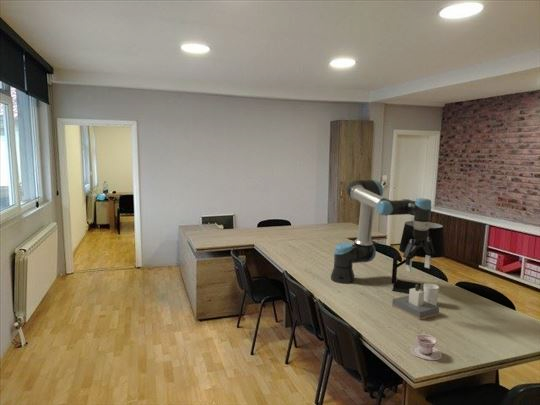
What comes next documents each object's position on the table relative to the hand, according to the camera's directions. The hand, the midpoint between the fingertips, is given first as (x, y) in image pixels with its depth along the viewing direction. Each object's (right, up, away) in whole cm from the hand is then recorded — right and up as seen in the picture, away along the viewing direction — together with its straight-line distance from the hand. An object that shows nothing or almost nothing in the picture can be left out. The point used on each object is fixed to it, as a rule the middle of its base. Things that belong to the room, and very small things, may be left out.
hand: (417, 269), depth 191 cm
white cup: (+12, -21, +12) cm, 27 cm away
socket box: (0, -22, +3) cm, 22 cm away
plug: (0, -21, +2) cm, 21 cm away
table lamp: (+13, -18, +34) cm, 41 cm away
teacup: (-12, -28, -38) cm, 49 cm away
